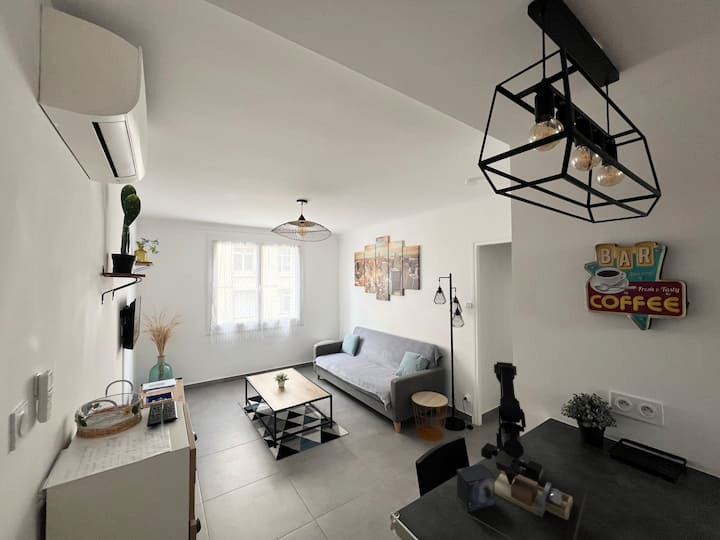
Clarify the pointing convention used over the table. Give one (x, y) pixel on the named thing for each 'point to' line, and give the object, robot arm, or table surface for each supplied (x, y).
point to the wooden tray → (540, 501)
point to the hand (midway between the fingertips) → (510, 484)
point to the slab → (524, 490)
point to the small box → (475, 487)
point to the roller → (555, 498)
